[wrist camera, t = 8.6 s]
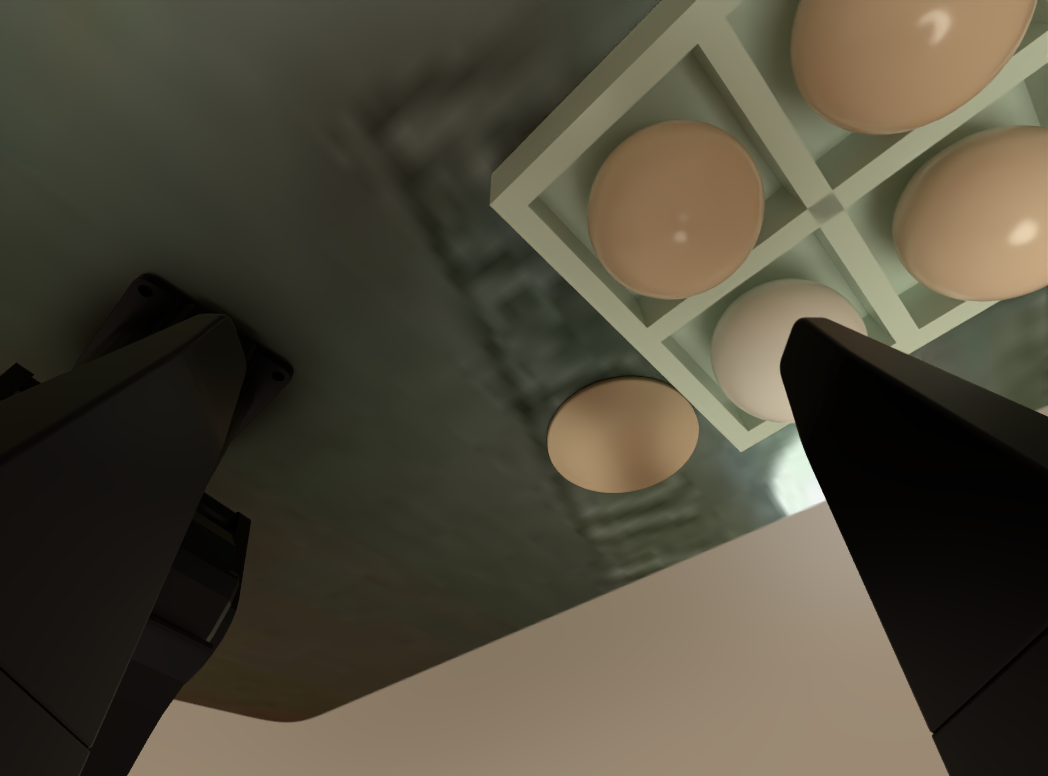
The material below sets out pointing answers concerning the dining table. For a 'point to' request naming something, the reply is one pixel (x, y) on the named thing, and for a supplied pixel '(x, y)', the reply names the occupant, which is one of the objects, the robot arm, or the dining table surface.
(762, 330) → the white egg
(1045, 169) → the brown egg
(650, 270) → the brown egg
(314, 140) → the dining table surface
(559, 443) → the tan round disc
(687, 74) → the egg tray
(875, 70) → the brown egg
